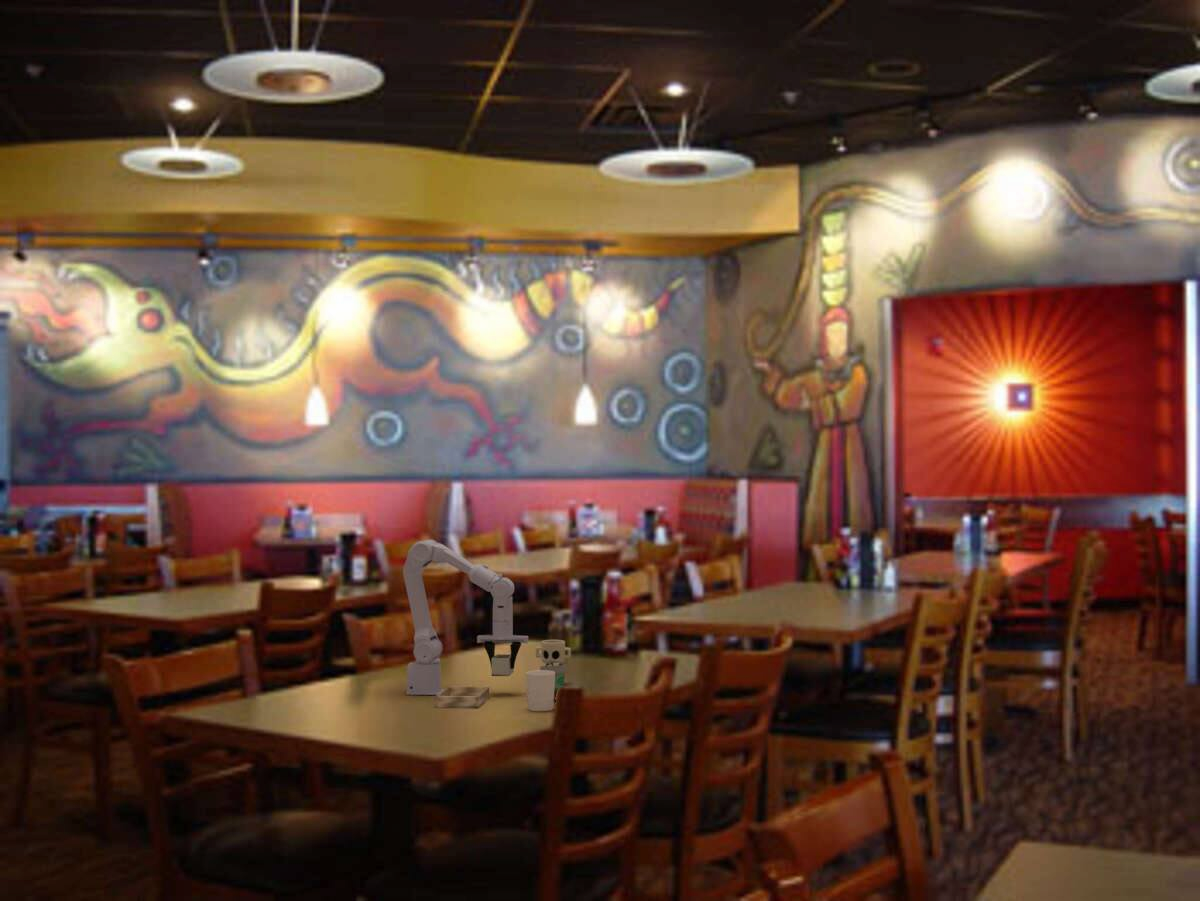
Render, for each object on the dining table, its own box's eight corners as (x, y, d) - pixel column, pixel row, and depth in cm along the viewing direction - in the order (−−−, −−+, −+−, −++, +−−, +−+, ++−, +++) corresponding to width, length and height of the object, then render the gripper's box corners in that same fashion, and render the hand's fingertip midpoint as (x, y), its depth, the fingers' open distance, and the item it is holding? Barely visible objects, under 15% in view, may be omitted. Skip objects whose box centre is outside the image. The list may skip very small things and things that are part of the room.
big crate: (435, 707, 380) (435, 696, 380) (447, 697, 396) (447, 686, 396) (478, 708, 379) (478, 697, 379) (489, 697, 395) (489, 687, 395)
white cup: (535, 713, 372) (534, 675, 372) (520, 708, 379) (520, 671, 379) (560, 710, 376) (560, 673, 376) (546, 705, 383) (545, 669, 383)
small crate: (491, 676, 396) (491, 658, 396) (496, 671, 404) (496, 654, 404) (509, 676, 396) (508, 658, 396) (513, 671, 404) (513, 654, 404)
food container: (561, 703, 387) (561, 667, 387) (539, 702, 388) (539, 666, 388) (571, 695, 399) (571, 660, 399) (550, 695, 400) (550, 660, 400)
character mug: (532, 685, 415) (532, 642, 415) (539, 682, 422) (539, 639, 422) (567, 687, 413) (567, 643, 413) (574, 683, 420) (573, 640, 420)
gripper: (475, 622, 397) (475, 669, 397) (525, 622, 395) (525, 670, 395) (479, 619, 404) (479, 666, 404) (529, 619, 402) (529, 666, 402)
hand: (502, 668), depth 400 cm, fingers closed on small crate, 5 cm apart
